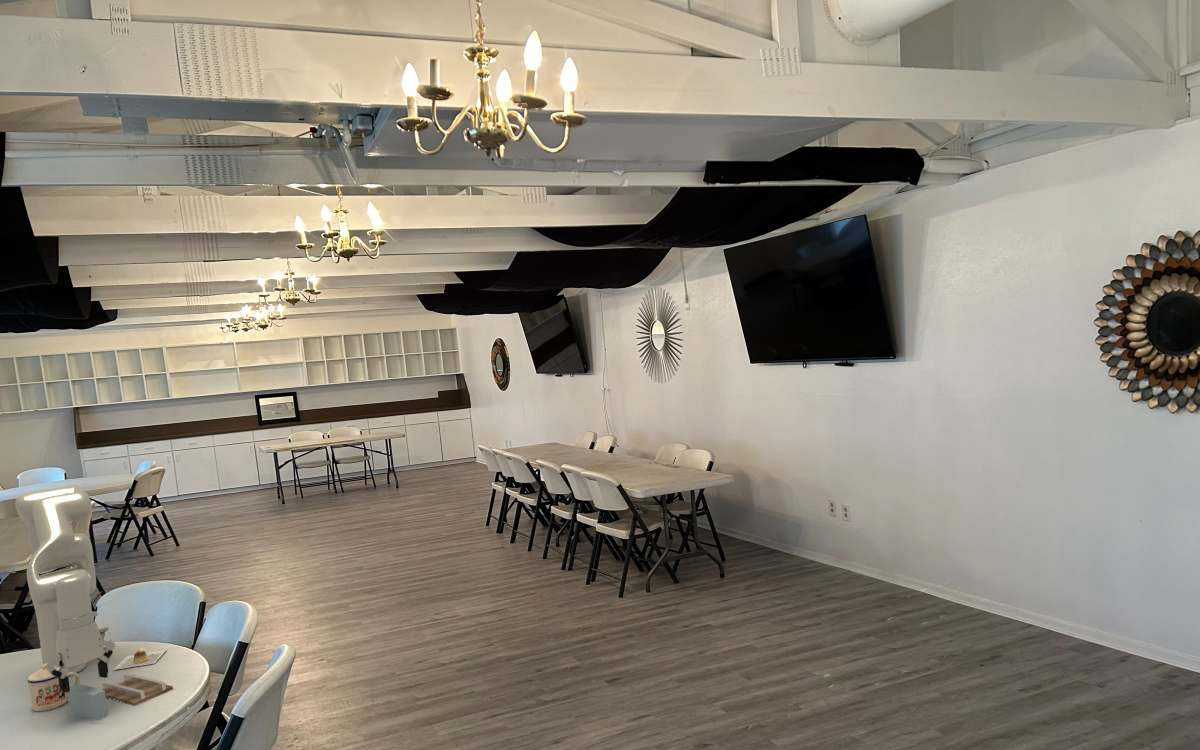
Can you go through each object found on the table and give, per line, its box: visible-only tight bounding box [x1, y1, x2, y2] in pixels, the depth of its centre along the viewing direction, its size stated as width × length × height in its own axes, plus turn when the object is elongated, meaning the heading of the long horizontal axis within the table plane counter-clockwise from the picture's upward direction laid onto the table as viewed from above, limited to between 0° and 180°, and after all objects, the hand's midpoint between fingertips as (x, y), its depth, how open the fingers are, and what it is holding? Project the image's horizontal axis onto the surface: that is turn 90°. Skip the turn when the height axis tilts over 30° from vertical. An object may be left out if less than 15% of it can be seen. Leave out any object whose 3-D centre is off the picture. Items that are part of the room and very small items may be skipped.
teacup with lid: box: [27, 663, 80, 712], centre depth 234 cm, size 12×9×12 cm
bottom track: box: [102, 672, 174, 706], centre depth 237 cm, size 20×11×3 cm, turn 58°
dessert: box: [112, 647, 167, 671], centre depth 263 cm, size 12×12×5 cm
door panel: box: [67, 683, 109, 721], centre depth 224 cm, size 14×3×7 cm, turn 58°
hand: (85, 684), depth 224 cm, fingers open, 9 cm apart
